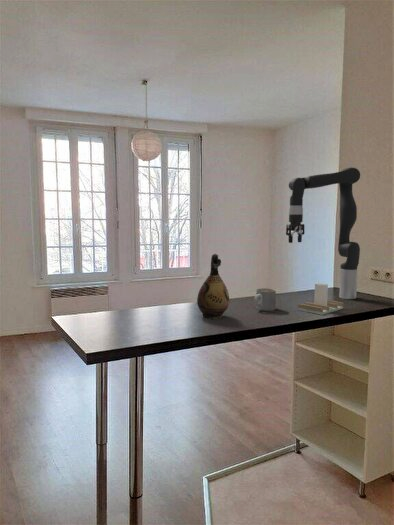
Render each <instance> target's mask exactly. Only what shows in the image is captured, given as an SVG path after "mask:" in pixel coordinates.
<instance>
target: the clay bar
mask: <svg viewBox="0 0 394 525" xmlns="http://www.w3.org/2000/svg"><path fill="white" fill-rule="evenodd" d="M328 288H329V285H328V283H323V282H321V283H320V282H318V283H314V299H313V300H314V304H319V305H324V306H327V300H328V297H329V296H328V294H329V292H328V290H329V289H328Z"/></svg>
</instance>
